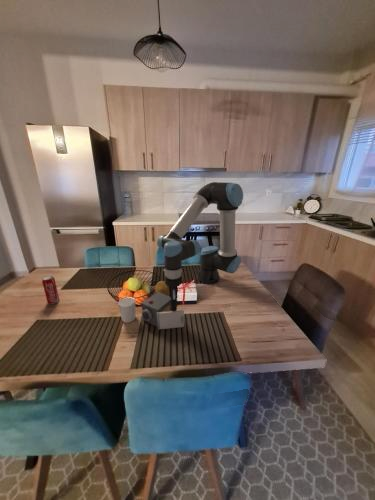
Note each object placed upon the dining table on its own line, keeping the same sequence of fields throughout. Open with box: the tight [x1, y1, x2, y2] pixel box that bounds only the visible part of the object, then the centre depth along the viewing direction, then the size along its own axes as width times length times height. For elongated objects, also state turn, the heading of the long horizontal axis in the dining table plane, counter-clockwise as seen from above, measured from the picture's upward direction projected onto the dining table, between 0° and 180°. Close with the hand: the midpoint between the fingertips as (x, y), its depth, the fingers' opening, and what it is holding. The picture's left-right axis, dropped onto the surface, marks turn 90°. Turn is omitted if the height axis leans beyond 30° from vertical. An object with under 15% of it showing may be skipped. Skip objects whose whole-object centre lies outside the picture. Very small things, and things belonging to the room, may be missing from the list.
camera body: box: [141, 292, 171, 328], centre depth 103 cm, size 14×10×11 cm
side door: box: [156, 309, 185, 330], centre depth 96 cm, size 12×2×9 cm, turn 98°
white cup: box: [118, 296, 137, 324], centre depth 103 cm, size 8×8×10 cm
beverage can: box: [41, 275, 60, 305], centre depth 115 cm, size 6×6×15 cm
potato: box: [154, 280, 170, 296], centre depth 122 cm, size 10×13×9 cm
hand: (173, 318), depth 101 cm, fingers closed
